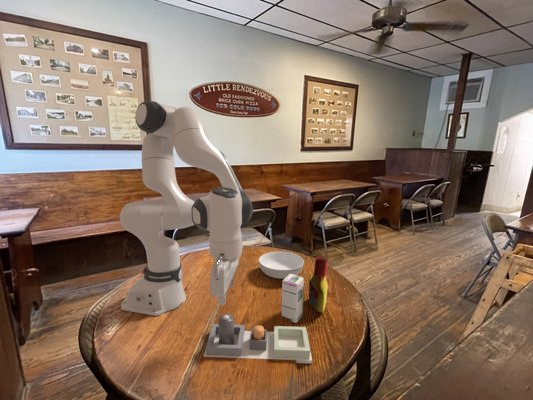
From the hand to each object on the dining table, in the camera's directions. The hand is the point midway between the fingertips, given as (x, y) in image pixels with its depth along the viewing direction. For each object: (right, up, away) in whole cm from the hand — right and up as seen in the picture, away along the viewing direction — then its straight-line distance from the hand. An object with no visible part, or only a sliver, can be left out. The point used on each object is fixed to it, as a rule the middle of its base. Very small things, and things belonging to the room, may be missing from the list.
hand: (226, 294), depth 76 cm
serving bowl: (+18, -8, +49) cm, 53 cm away
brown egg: (+9, -14, +3) cm, 17 cm away
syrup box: (+20, -14, +18) cm, 31 cm away
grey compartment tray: (+9, -17, +3) cm, 19 cm away
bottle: (+30, -13, +25) cm, 41 cm away
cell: (0, -16, +3) cm, 16 cm away
